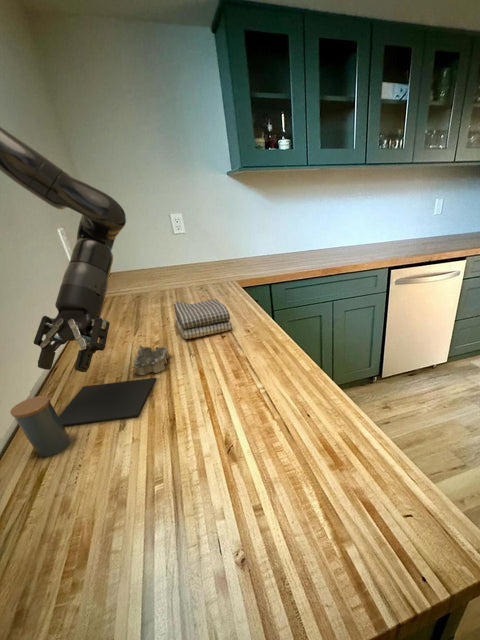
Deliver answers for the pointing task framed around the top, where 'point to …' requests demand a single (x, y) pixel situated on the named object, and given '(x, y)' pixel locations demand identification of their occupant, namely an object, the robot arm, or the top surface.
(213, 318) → the towel
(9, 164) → the robot arm
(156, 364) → the egg carton
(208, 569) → the top surface
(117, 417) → the counter mat
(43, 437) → the sugar canister
